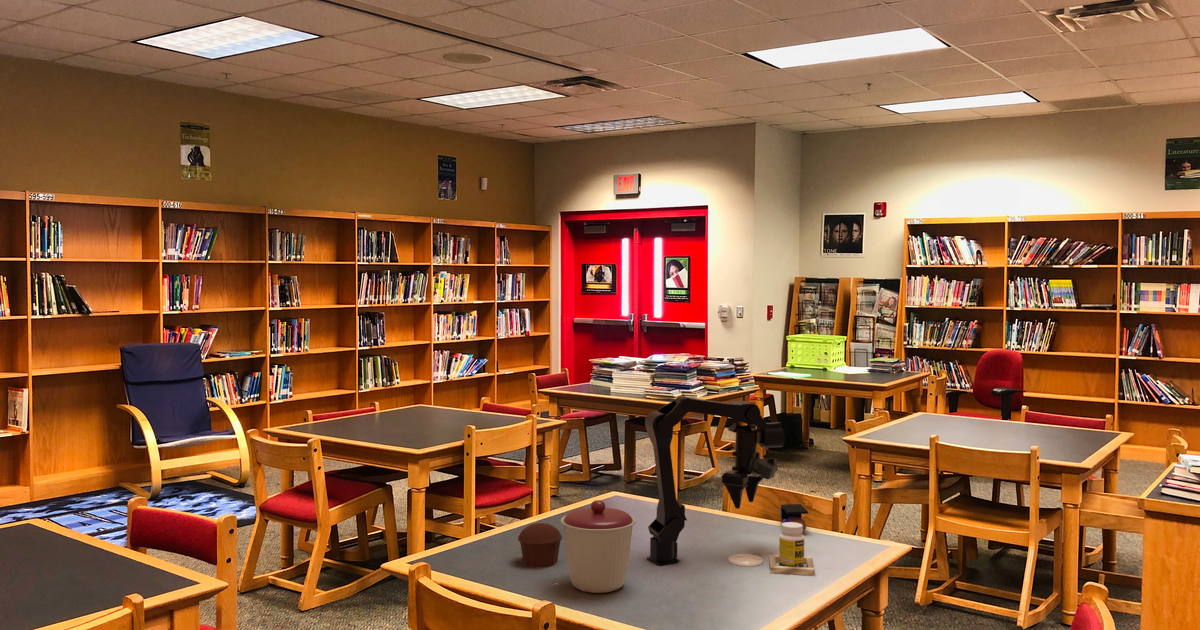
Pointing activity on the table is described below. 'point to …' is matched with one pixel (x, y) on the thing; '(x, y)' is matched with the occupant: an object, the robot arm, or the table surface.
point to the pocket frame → (792, 570)
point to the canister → (598, 547)
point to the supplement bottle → (791, 545)
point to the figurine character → (793, 514)
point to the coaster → (745, 560)
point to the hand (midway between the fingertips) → (744, 505)
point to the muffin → (540, 545)
